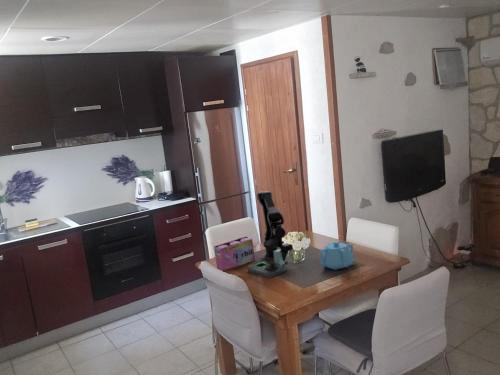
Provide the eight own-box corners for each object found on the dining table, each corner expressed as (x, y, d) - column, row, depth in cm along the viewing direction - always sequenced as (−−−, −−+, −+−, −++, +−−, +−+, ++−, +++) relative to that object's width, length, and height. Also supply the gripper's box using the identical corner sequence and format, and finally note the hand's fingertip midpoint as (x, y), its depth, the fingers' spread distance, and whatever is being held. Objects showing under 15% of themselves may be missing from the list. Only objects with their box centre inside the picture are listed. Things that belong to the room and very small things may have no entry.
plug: (280, 262, 254) (278, 249, 253) (284, 263, 251) (283, 250, 250) (274, 264, 252) (273, 251, 250) (279, 265, 249) (278, 252, 247)
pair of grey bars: (280, 261, 256) (280, 259, 256) (287, 263, 251) (287, 261, 251) (271, 265, 251) (271, 263, 251) (279, 267, 247) (278, 265, 247)
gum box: (250, 257, 270) (247, 235, 268) (257, 259, 264) (254, 238, 262) (216, 268, 257) (213, 246, 255) (223, 271, 251) (220, 248, 249)
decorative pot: (346, 273, 226) (343, 248, 224) (317, 269, 236) (315, 245, 233) (358, 262, 239) (356, 238, 237) (330, 259, 249) (328, 236, 246)
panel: (263, 265, 253) (263, 259, 253) (285, 271, 239) (285, 265, 239) (247, 271, 246) (247, 266, 245) (269, 278, 232) (268, 272, 231)
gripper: (254, 235, 251) (258, 261, 253) (277, 239, 236) (280, 267, 239) (269, 230, 257) (272, 255, 260) (291, 234, 243) (294, 261, 246)
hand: (279, 259), depth 251 cm, fingers open, 7 cm apart
